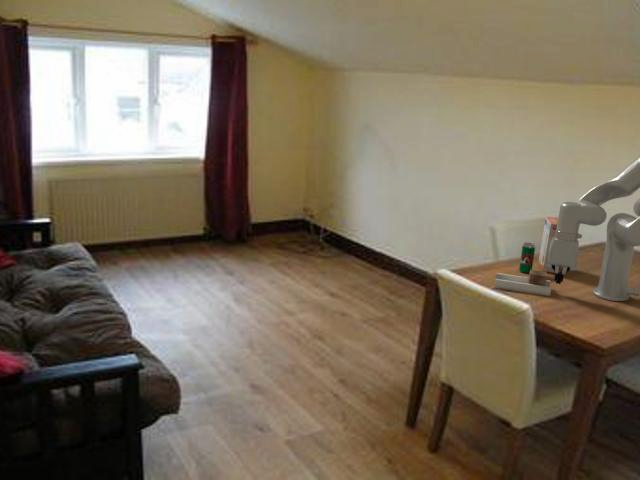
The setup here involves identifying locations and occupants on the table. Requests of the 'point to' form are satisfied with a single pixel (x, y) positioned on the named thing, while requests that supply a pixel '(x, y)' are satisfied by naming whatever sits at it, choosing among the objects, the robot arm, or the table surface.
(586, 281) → the table surface
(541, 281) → the walnut block
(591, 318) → the table surface
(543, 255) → the cracker box
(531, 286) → the chute
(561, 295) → the table surface
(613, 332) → the table surface
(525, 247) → the soda can
